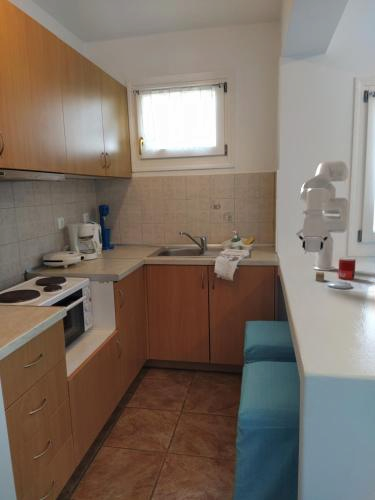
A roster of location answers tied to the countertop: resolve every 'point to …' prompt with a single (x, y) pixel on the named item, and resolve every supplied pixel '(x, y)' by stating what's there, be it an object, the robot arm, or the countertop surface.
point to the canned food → (346, 268)
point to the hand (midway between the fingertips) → (312, 249)
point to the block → (319, 276)
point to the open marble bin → (312, 244)
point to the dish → (339, 285)
